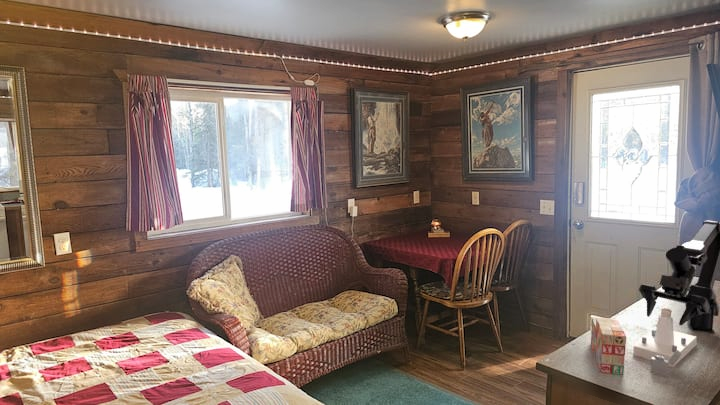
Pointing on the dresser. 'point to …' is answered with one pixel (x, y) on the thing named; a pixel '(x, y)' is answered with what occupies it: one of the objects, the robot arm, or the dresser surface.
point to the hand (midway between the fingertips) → (663, 320)
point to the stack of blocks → (608, 345)
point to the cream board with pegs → (651, 348)
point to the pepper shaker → (665, 329)
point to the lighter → (663, 363)
